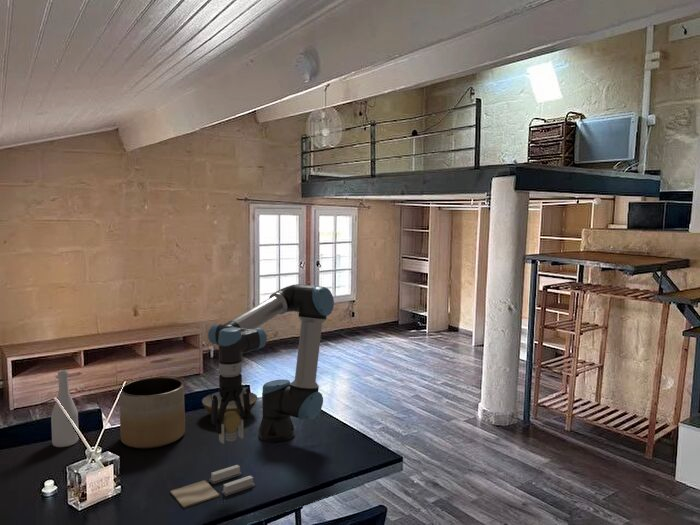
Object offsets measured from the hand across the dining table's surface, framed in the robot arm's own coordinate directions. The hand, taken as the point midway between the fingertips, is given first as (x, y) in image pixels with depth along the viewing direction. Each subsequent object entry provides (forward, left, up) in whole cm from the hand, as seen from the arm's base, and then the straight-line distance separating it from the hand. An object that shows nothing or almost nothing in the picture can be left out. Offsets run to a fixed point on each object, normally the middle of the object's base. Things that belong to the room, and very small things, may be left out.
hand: (231, 439), depth 180 cm
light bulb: (0, 0, -1) cm, 1 cm away
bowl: (-58, +27, -16) cm, 66 cm away
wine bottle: (-71, -39, -16) cm, 83 cm away
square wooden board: (-1, -13, -16) cm, 21 cm away
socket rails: (0, 0, -16) cm, 16 cm away
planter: (-55, -9, -16) cm, 58 cm away
